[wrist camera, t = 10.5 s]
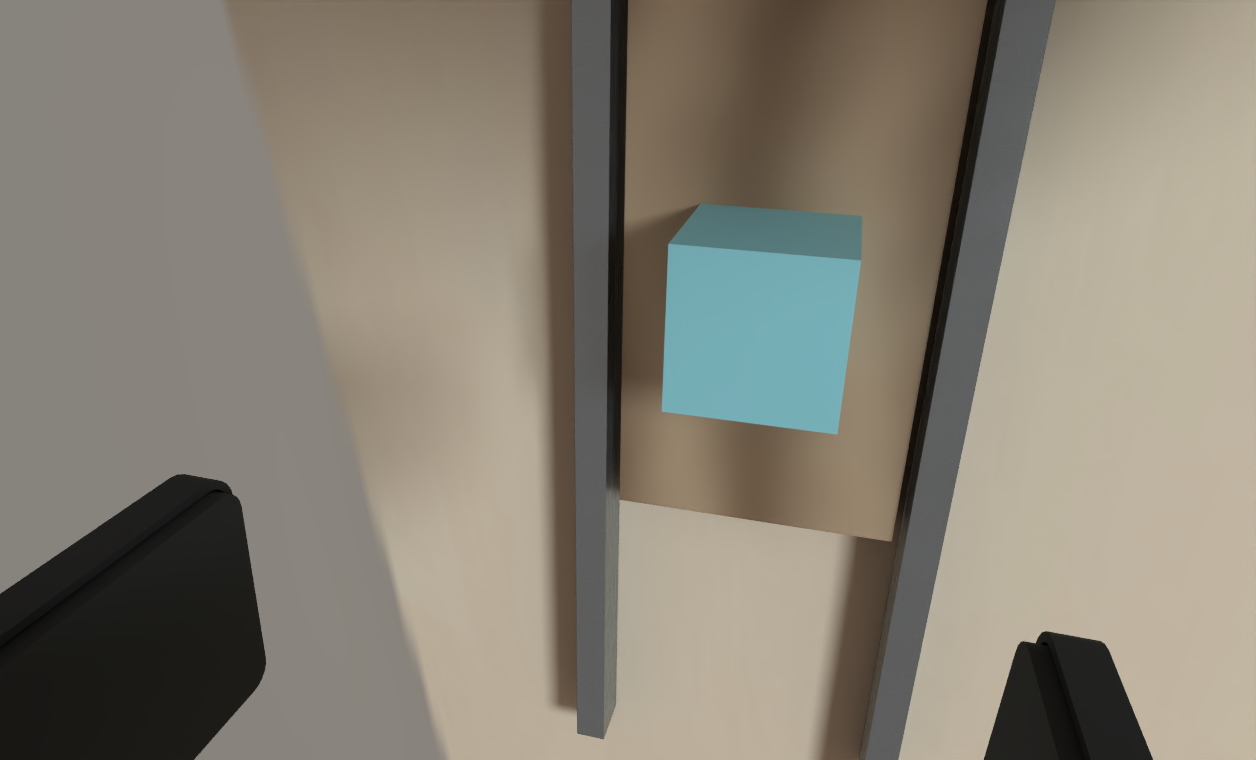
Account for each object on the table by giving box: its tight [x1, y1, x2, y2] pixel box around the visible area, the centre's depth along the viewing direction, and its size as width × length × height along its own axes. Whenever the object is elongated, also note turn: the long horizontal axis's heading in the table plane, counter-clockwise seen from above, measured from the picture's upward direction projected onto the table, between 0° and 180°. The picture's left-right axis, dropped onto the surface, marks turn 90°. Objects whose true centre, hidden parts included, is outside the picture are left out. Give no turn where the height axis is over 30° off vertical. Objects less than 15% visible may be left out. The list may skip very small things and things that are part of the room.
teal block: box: [662, 204, 862, 434], centre depth 25 cm, size 5×5×5 cm
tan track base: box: [620, 0, 987, 542], centre depth 23 cm, size 10×30×7 cm, turn 179°
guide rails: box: [572, 0, 1055, 760], centre depth 30 cm, size 13×32×2 cm, turn 179°
